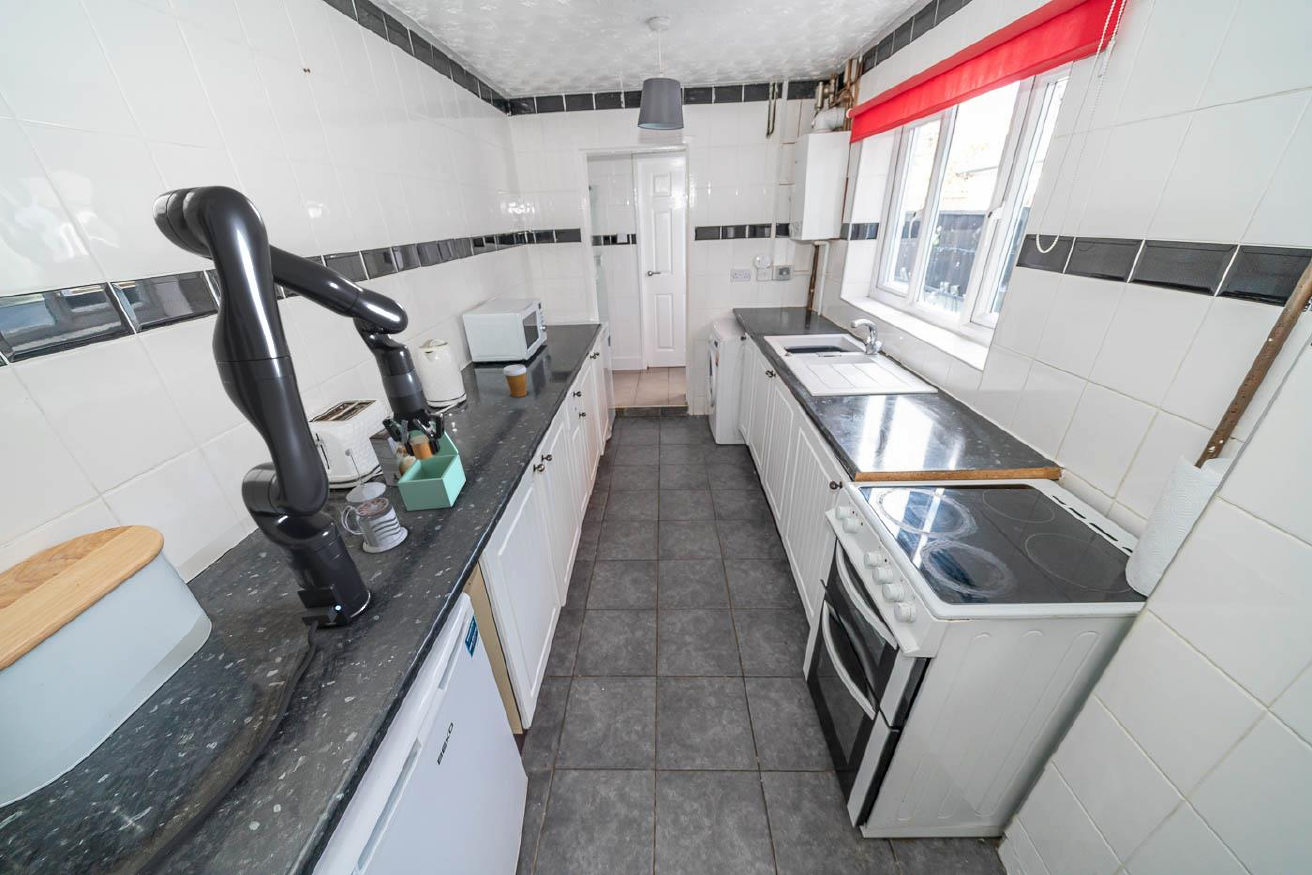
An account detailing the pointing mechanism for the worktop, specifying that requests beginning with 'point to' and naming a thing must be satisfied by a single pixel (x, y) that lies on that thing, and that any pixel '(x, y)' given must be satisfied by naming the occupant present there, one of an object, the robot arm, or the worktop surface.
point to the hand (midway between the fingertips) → (425, 453)
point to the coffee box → (391, 456)
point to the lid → (444, 441)
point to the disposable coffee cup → (516, 379)
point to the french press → (376, 535)
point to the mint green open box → (432, 482)
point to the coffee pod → (421, 447)
